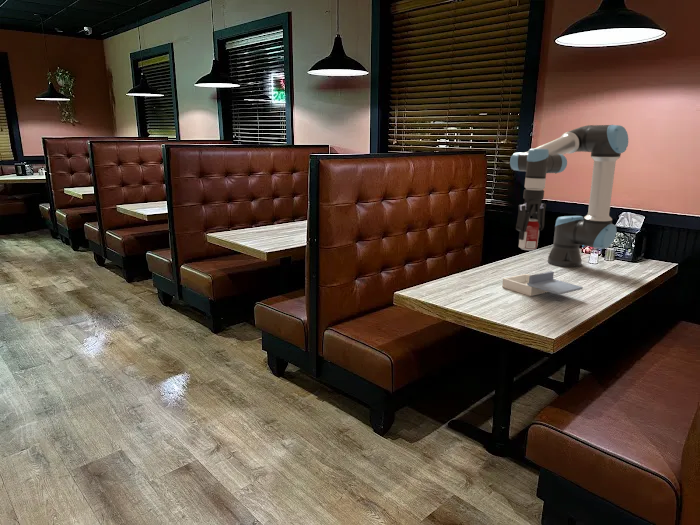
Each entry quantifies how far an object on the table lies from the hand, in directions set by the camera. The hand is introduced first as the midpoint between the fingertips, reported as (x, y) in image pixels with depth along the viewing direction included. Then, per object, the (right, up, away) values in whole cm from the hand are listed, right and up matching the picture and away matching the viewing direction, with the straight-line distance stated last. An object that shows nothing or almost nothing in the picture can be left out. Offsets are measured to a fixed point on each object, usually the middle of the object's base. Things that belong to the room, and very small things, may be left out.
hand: (527, 246), depth 200 cm
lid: (+7, -16, -10) cm, 20 cm away
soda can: (0, -1, 0) cm, 1 cm away
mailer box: (0, -17, +1) cm, 17 cm away
